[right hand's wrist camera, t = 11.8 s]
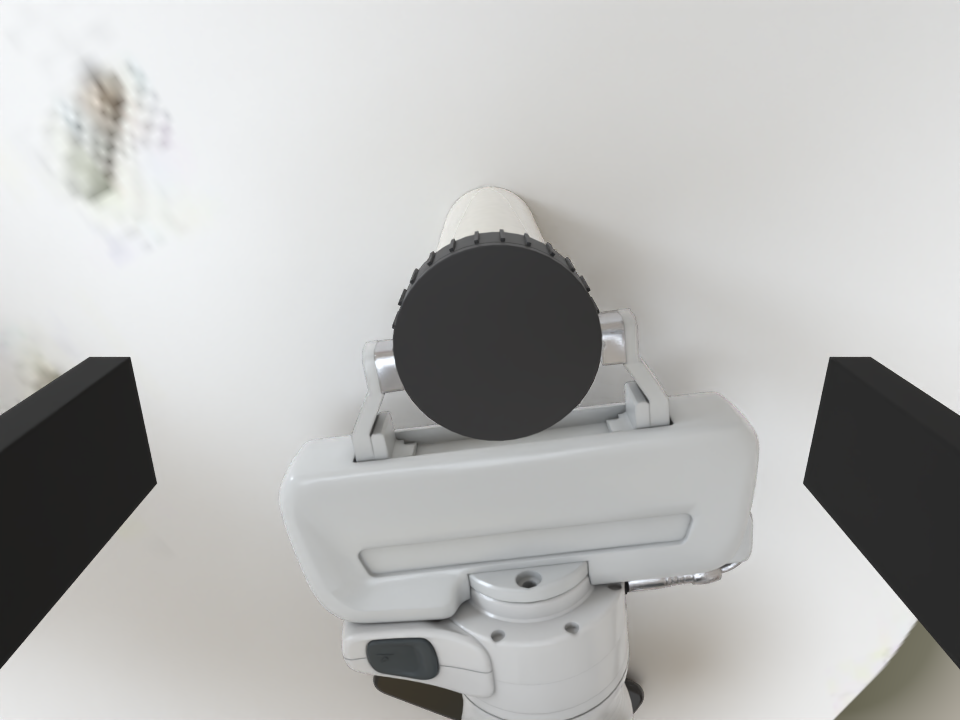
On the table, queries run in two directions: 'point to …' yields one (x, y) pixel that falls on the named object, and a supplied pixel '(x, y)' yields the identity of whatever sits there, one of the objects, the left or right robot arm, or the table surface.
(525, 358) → the lid
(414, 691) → the smartphone
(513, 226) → the cream cylinder
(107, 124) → the table surface
